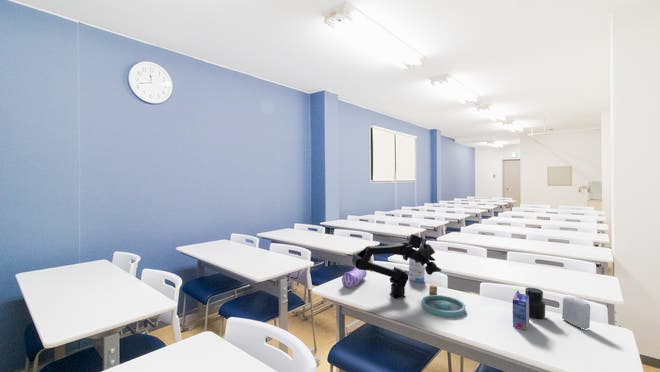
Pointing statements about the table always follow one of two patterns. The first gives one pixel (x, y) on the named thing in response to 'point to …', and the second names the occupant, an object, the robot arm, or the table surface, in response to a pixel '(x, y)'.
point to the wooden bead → (433, 290)
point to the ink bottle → (536, 303)
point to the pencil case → (353, 277)
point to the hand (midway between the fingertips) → (437, 265)
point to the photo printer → (576, 311)
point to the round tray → (443, 306)
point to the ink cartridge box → (520, 311)
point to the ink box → (416, 271)
